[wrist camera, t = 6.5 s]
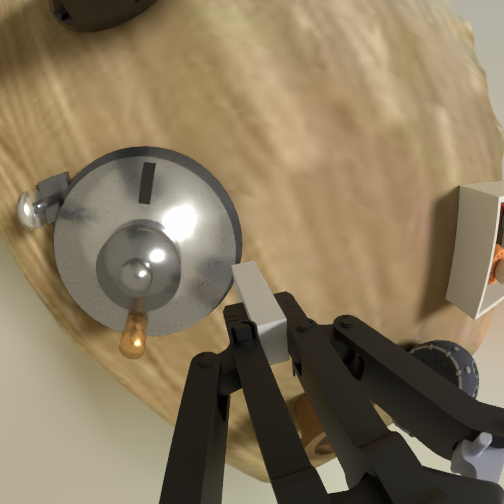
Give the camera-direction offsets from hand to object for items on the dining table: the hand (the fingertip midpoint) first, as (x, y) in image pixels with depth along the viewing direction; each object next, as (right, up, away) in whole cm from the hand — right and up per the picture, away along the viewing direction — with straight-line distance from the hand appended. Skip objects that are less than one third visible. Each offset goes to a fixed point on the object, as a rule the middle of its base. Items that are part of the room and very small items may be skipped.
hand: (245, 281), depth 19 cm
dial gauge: (-22, +8, +8) cm, 24 cm away
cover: (-11, +1, +9) cm, 14 cm away
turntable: (-11, +2, +10) cm, 15 cm away
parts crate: (+50, +6, +25) cm, 56 cm away
